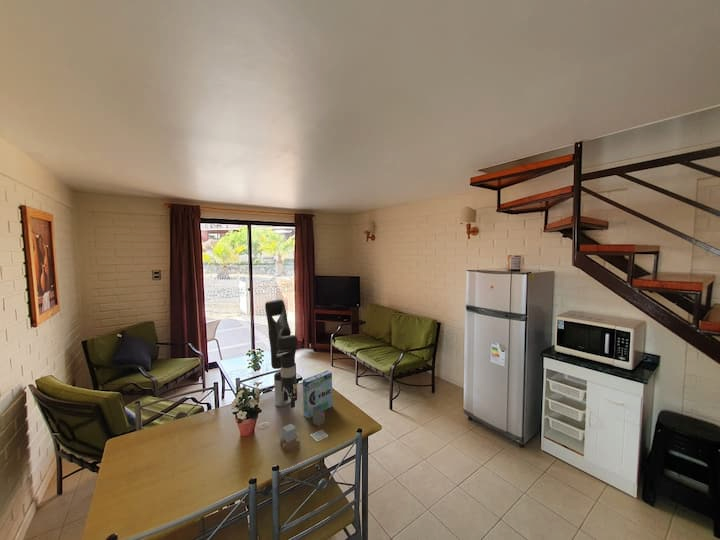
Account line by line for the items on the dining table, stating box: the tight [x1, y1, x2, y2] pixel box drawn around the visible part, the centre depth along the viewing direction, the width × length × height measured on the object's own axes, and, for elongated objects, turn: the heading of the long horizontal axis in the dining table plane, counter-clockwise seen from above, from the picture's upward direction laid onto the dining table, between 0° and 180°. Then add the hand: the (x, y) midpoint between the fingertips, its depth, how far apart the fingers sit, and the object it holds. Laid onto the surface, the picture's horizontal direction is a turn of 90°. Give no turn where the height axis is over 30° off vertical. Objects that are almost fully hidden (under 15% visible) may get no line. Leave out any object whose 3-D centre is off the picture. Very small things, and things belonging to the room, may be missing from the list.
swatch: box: [310, 429, 329, 443], centre depth 156 cm, size 7×7×1 cm
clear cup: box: [282, 423, 297, 443], centre depth 148 cm, size 5×5×6 cm
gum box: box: [302, 370, 334, 419], centre depth 180 cm, size 20×5×23 cm, turn 134°
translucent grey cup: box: [312, 410, 326, 427], centre depth 168 cm, size 5×5×6 cm
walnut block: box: [279, 434, 300, 454], centre depth 149 cm, size 8×8×4 cm
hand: (289, 404), depth 149 cm, fingers open, 8 cm apart
